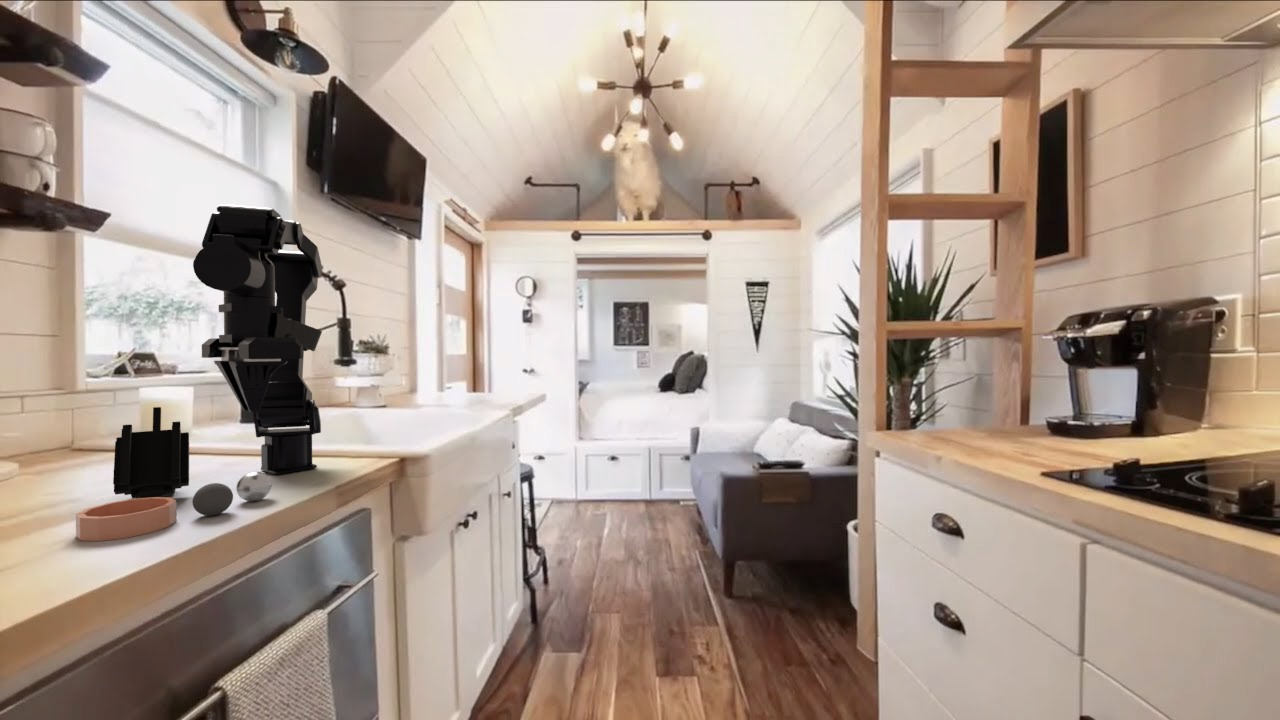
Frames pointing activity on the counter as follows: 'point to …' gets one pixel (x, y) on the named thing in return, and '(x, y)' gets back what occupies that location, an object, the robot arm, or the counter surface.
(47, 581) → the counter surface
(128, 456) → the toy
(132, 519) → the dish
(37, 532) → the counter surface
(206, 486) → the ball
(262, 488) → the steel ball
